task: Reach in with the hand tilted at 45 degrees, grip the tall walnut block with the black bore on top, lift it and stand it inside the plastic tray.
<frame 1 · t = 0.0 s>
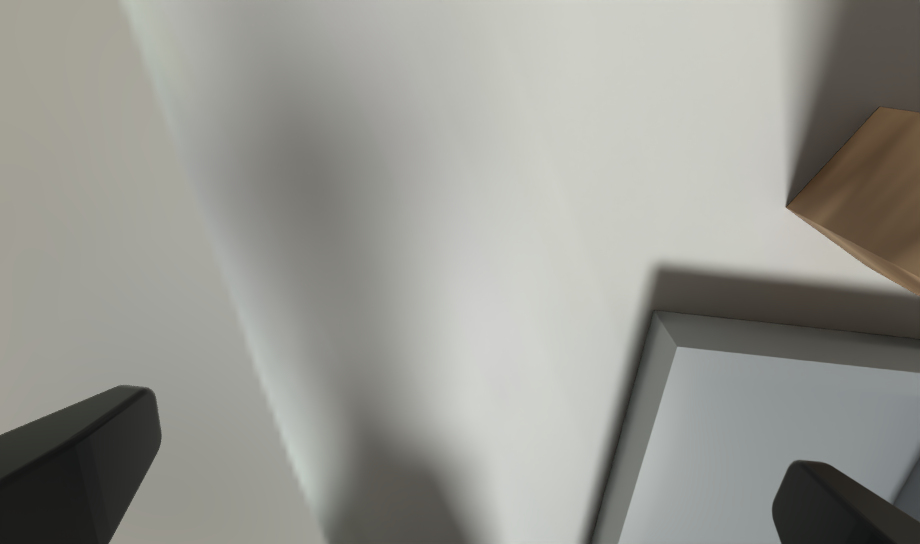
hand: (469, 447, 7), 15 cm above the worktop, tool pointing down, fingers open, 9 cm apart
walnut block: (873, 191, 20), on the worktop
tray: (757, 471, 26), on the worktop
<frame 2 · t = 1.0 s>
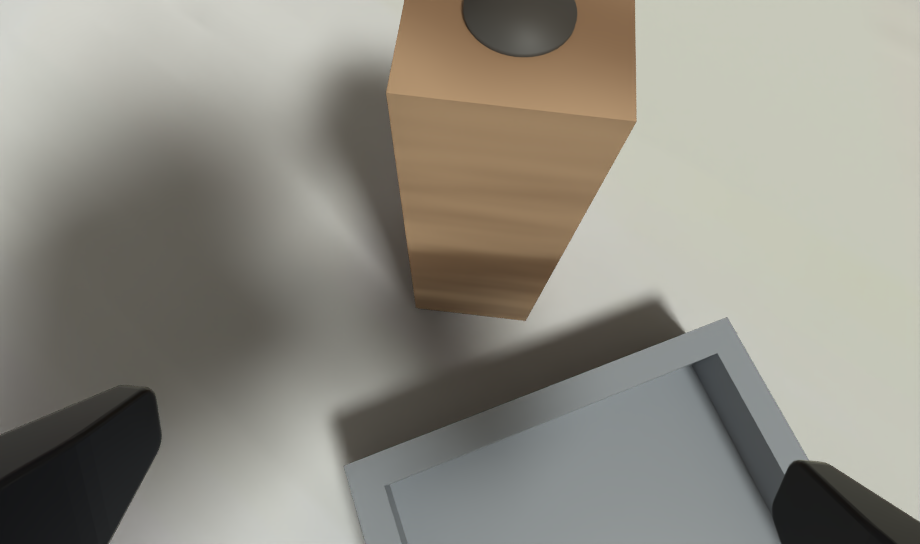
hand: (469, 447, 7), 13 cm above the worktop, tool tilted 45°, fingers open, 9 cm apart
walnut block: (476, 263, 22), on the worktop
when the fingers open (9 cm above the worktop, at t = 7.2 s): walnut block drops 1 cm, resting on tray.
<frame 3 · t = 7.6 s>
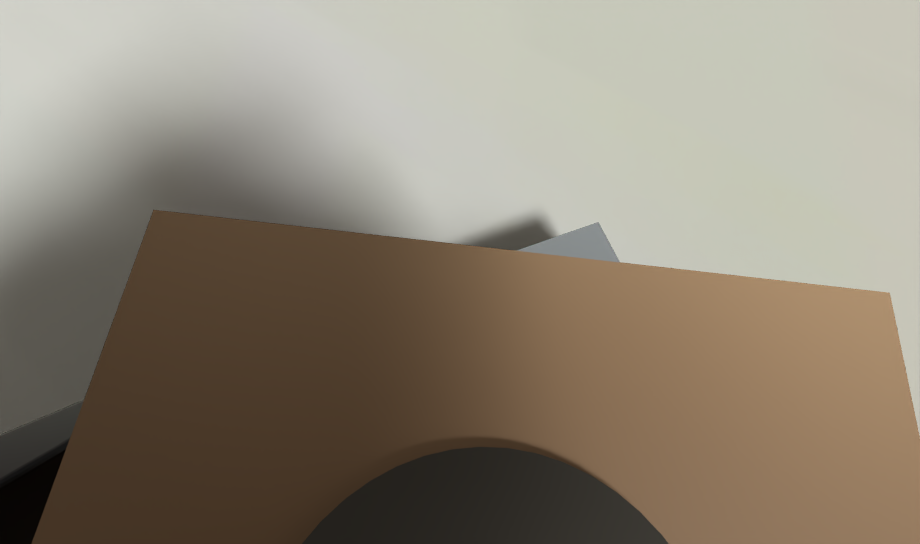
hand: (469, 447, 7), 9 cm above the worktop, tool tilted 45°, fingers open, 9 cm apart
walnut block: (447, 519, 14), point 1 cm above the worktop, touching tray
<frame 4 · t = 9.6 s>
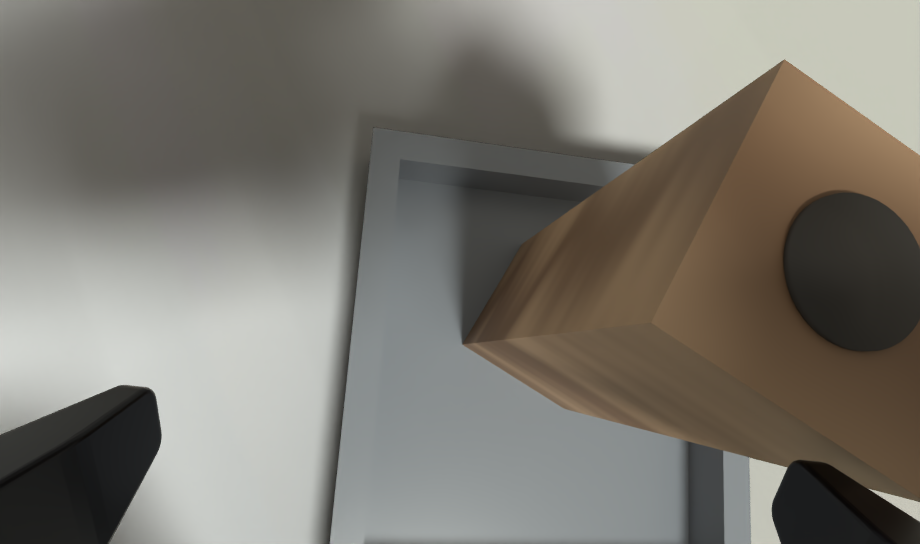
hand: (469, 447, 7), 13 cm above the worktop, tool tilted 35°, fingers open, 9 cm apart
walnut block: (542, 324, 20), point 1 cm above the worktop, touching tray
tray: (532, 377, 21), on the worktop
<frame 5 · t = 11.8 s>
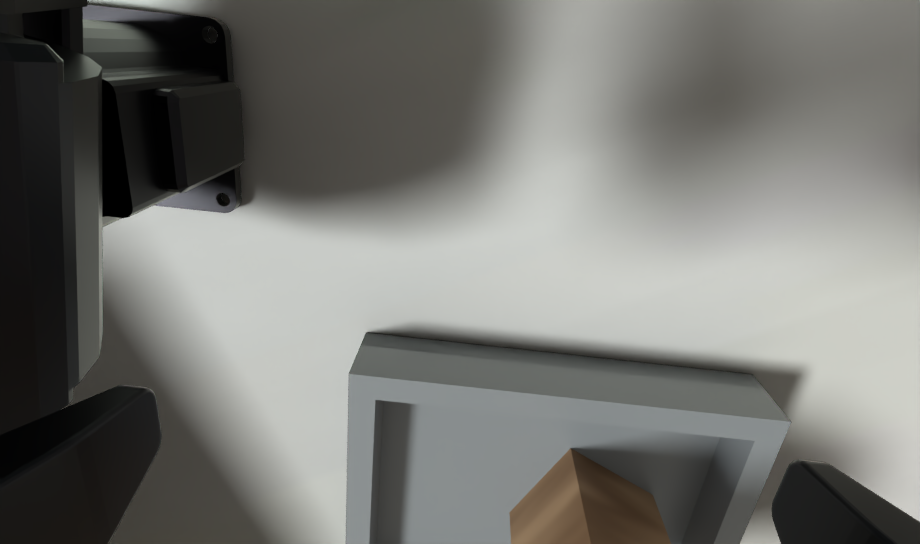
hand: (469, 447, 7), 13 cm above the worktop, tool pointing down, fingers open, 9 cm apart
walnut block: (580, 503, 24), point 1 cm above the worktop, touching tray
tray: (533, 482, 25), on the worktop
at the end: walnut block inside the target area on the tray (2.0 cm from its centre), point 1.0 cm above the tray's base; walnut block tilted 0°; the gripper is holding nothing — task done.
